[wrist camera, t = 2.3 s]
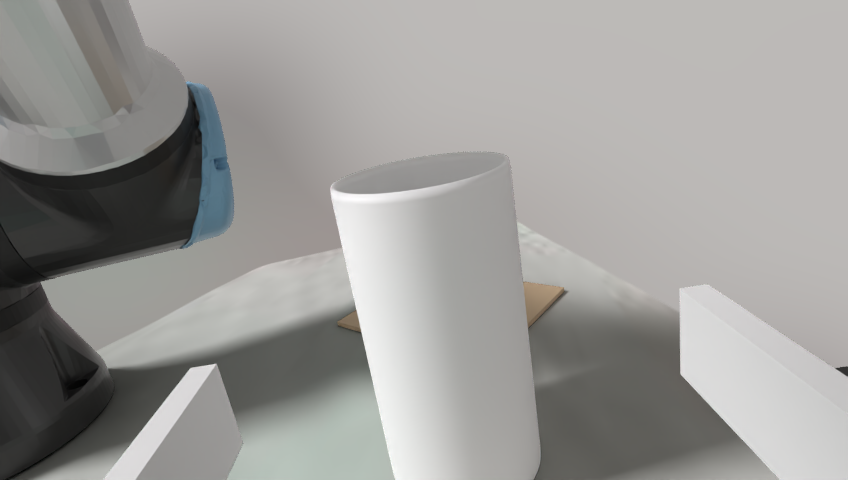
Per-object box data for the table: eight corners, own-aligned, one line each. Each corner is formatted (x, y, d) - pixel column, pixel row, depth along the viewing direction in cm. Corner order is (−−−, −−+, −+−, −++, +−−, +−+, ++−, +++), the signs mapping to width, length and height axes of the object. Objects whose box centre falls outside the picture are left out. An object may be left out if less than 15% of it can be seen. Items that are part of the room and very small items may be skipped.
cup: (504, 541, 22) (454, 193, 17) (362, 483, 26) (290, 196, 21) (561, 423, 28) (536, 146, 23) (439, 393, 33) (397, 156, 28)
